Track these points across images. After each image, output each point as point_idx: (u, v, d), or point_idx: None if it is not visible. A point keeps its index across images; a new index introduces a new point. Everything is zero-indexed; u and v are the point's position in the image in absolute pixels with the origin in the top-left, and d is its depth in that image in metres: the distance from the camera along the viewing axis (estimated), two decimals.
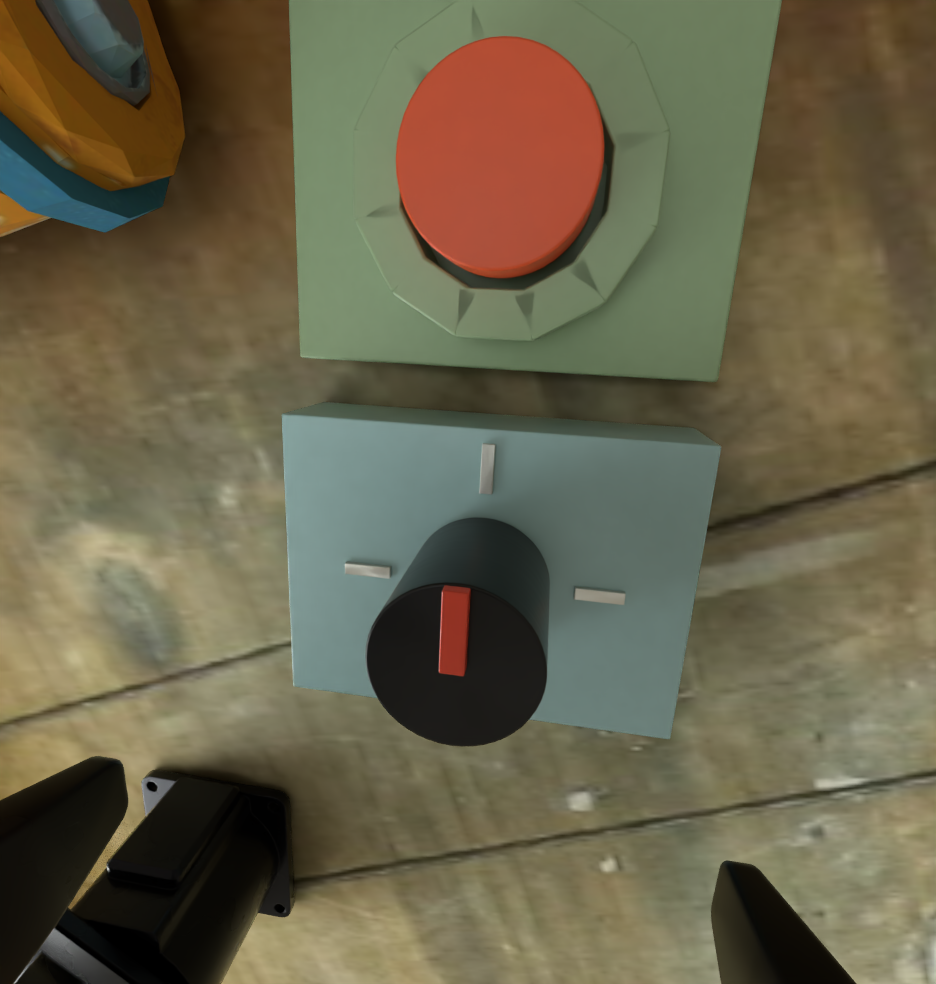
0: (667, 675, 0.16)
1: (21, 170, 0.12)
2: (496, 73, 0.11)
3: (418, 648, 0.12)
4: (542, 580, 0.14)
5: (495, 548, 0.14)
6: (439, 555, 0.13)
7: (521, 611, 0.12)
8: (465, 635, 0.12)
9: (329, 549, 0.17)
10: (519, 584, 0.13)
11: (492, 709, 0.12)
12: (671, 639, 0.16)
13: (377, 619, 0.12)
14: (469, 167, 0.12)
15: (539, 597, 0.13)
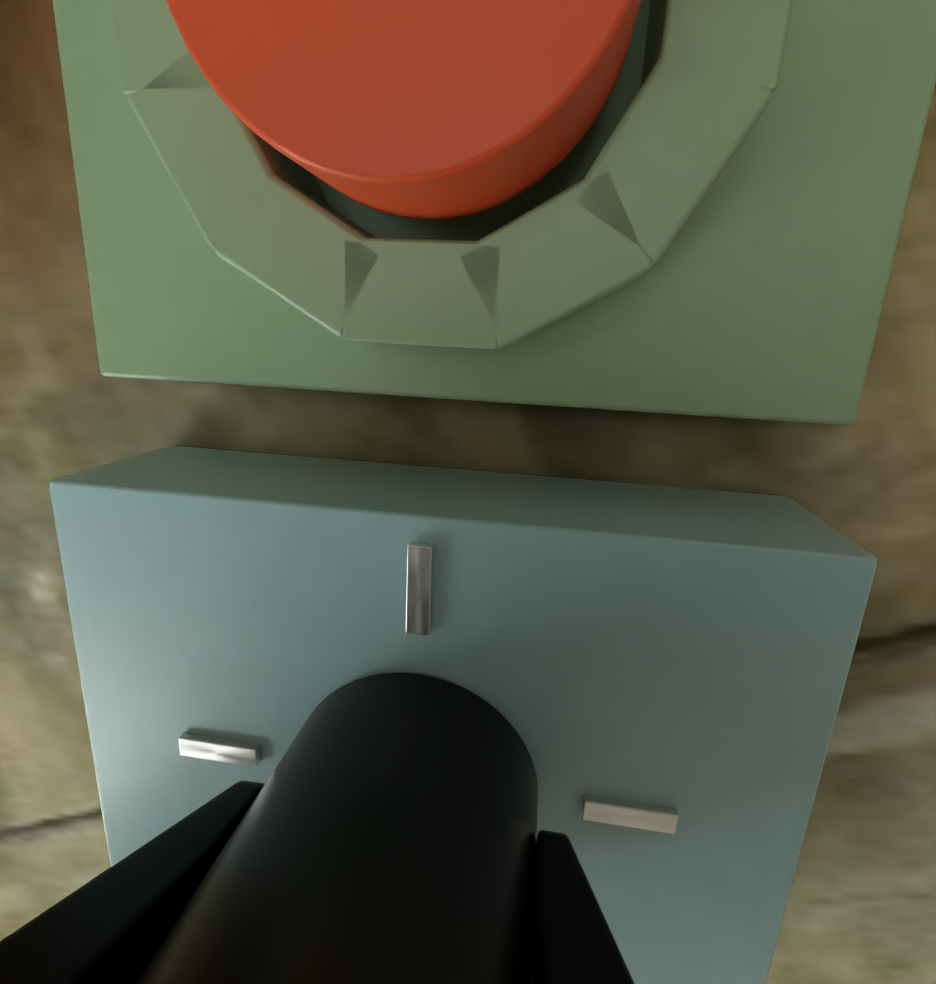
0: (749, 947, 0.09)
1: None
2: None
3: None
4: (520, 830, 0.07)
5: (420, 786, 0.07)
6: (290, 820, 0.06)
7: None
8: None
9: (153, 712, 0.10)
10: (461, 917, 0.05)
11: None
12: (759, 891, 0.09)
13: None
14: None
15: (510, 913, 0.06)
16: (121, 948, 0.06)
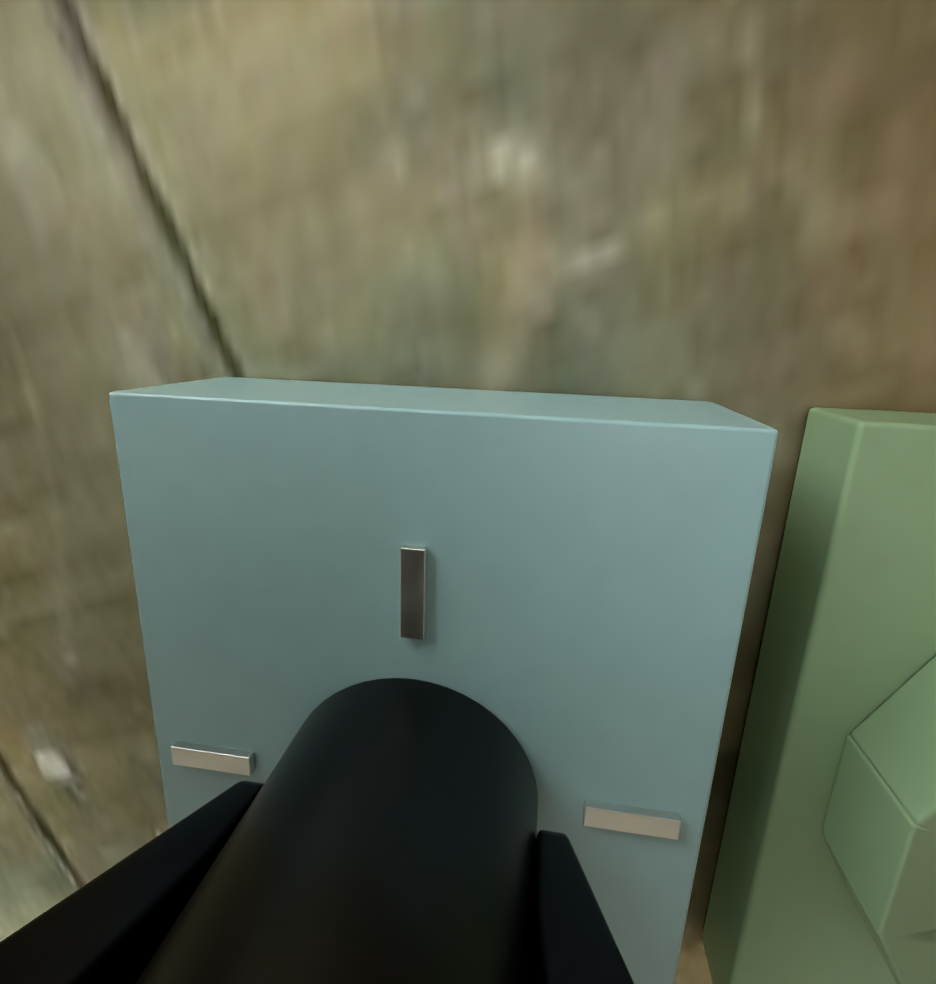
0: None
1: None
2: None
3: None
4: (520, 841, 0.07)
5: (416, 797, 0.06)
6: (282, 834, 0.06)
7: None
8: None
9: (451, 511, 0.08)
10: (459, 935, 0.05)
11: None
12: None
13: None
14: None
15: (509, 929, 0.06)
16: (122, 948, 0.06)
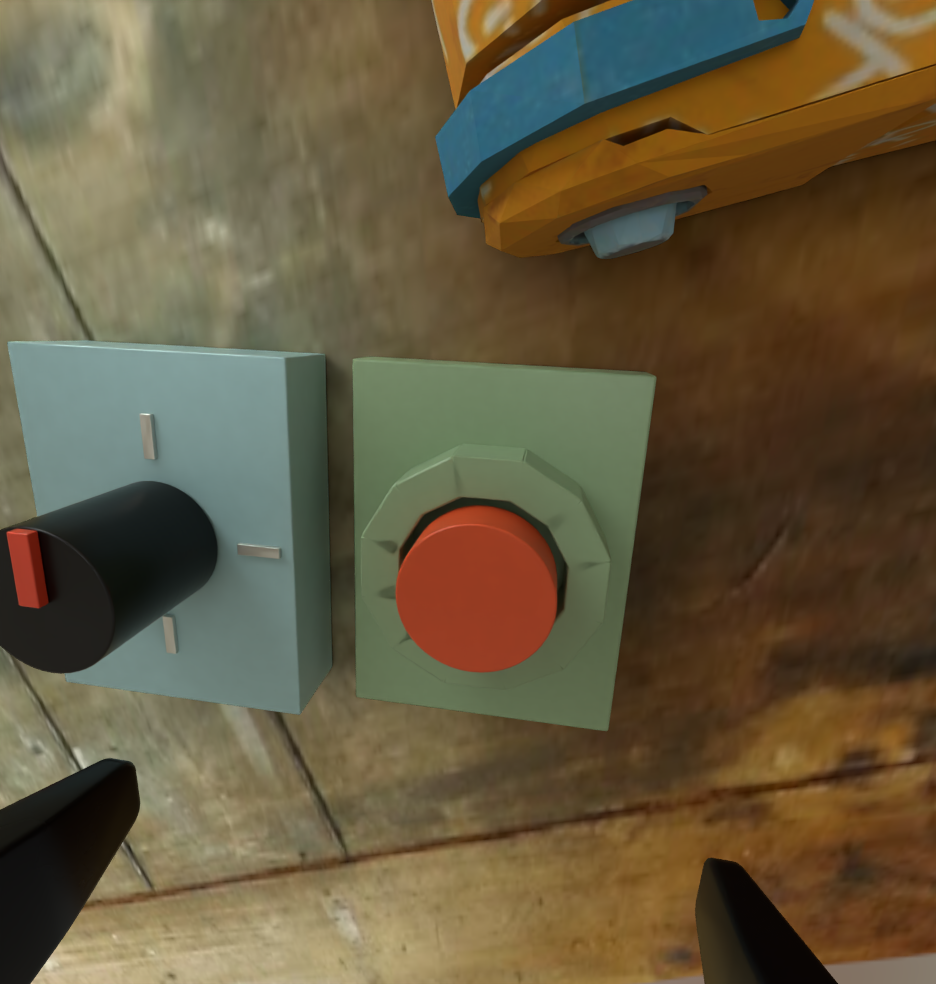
0: (118, 680, 0.20)
1: (460, 164, 0.11)
2: (531, 604, 0.15)
3: (9, 585, 0.14)
4: (177, 534, 0.16)
5: (122, 504, 0.16)
6: None
7: (85, 552, 0.13)
8: (31, 571, 0.13)
9: (160, 396, 0.17)
10: (115, 532, 0.14)
11: (76, 639, 0.14)
12: (148, 682, 0.20)
13: None
14: (469, 581, 0.15)
15: (148, 546, 0.15)
16: None
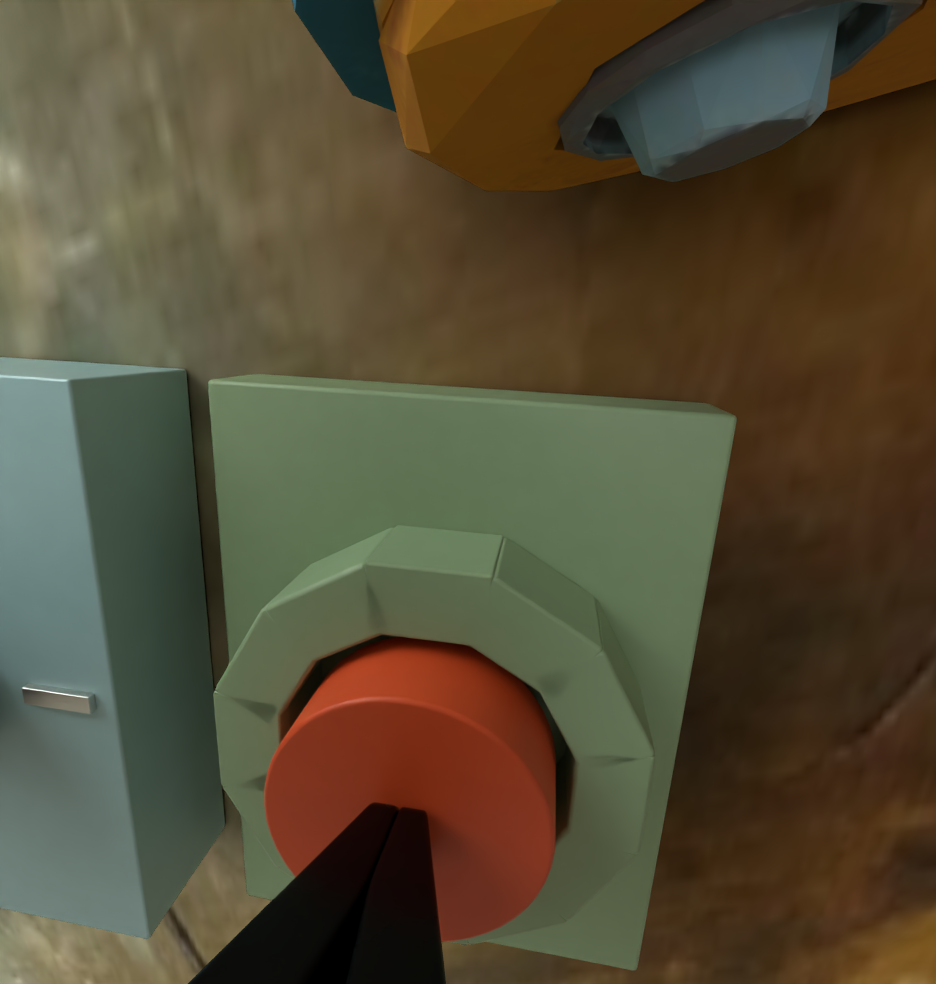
0: None
1: None
2: (507, 842, 0.08)
3: None
4: None
5: None
6: None
7: None
8: None
9: None
10: None
11: None
12: None
13: None
14: (392, 796, 0.08)
15: None
16: None
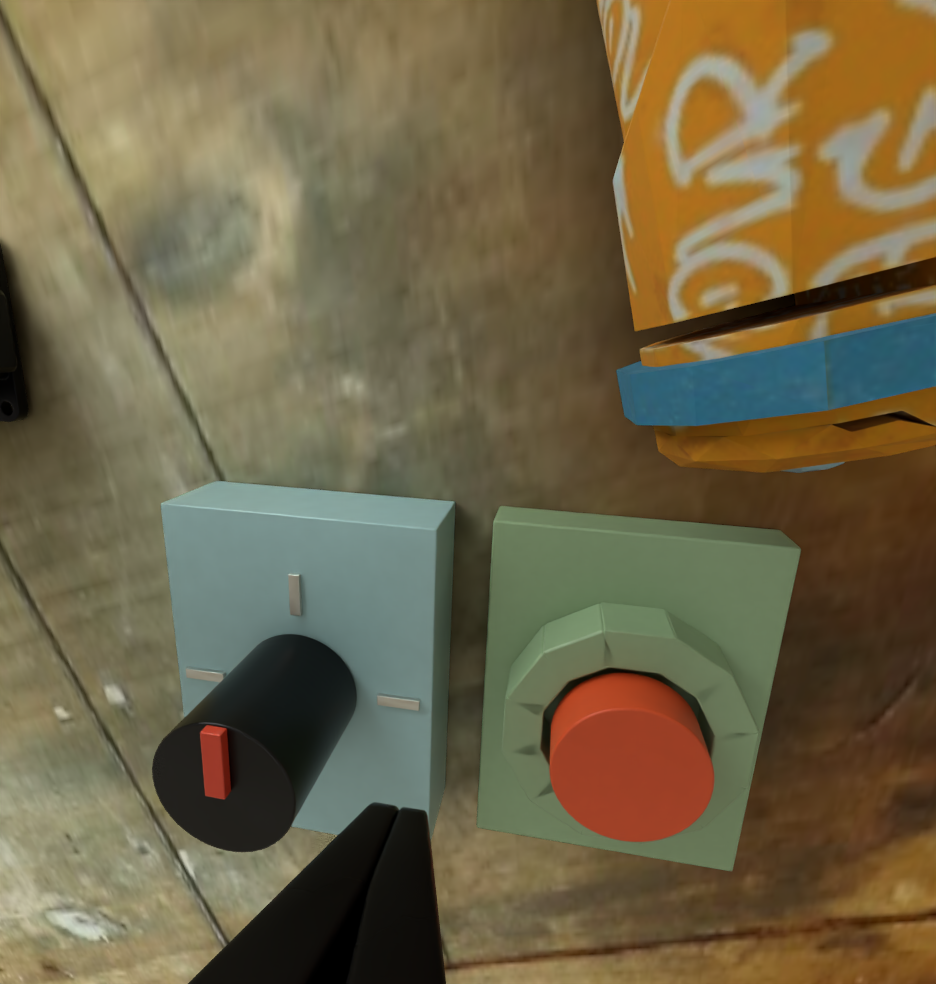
0: None
1: (663, 411, 0.12)
2: (688, 784, 0.15)
3: (193, 773, 0.14)
4: (331, 699, 0.17)
5: (283, 675, 0.16)
6: (228, 684, 0.16)
7: (271, 747, 0.14)
8: (221, 768, 0.14)
9: (309, 558, 0.17)
10: (287, 715, 0.15)
11: (255, 824, 0.15)
12: None
13: (158, 748, 0.14)
14: (626, 759, 0.15)
15: (313, 721, 0.16)
16: None
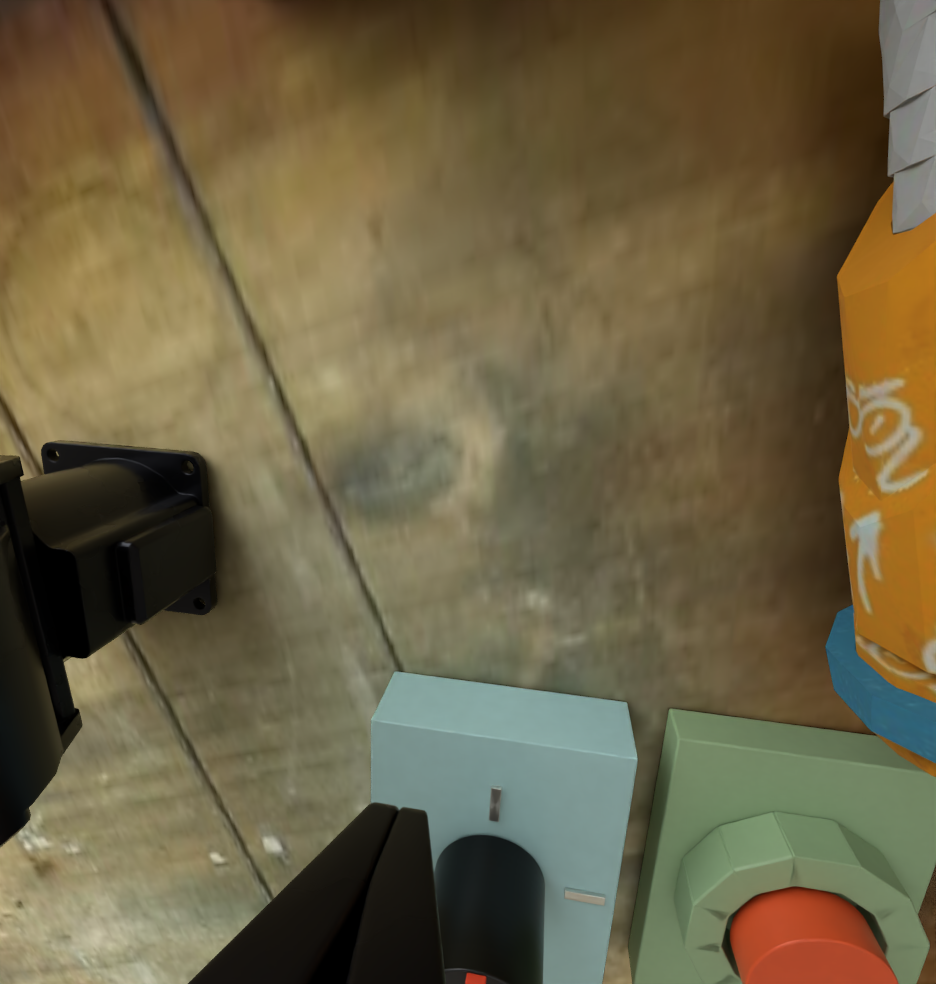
0: None
1: (910, 740, 0.13)
2: None
3: None
4: (539, 910, 0.18)
5: (503, 896, 0.18)
6: (460, 910, 0.17)
7: None
8: None
9: (512, 774, 0.19)
10: (522, 947, 0.17)
11: None
12: None
13: None
14: (820, 980, 0.17)
15: (536, 944, 0.17)
16: None
